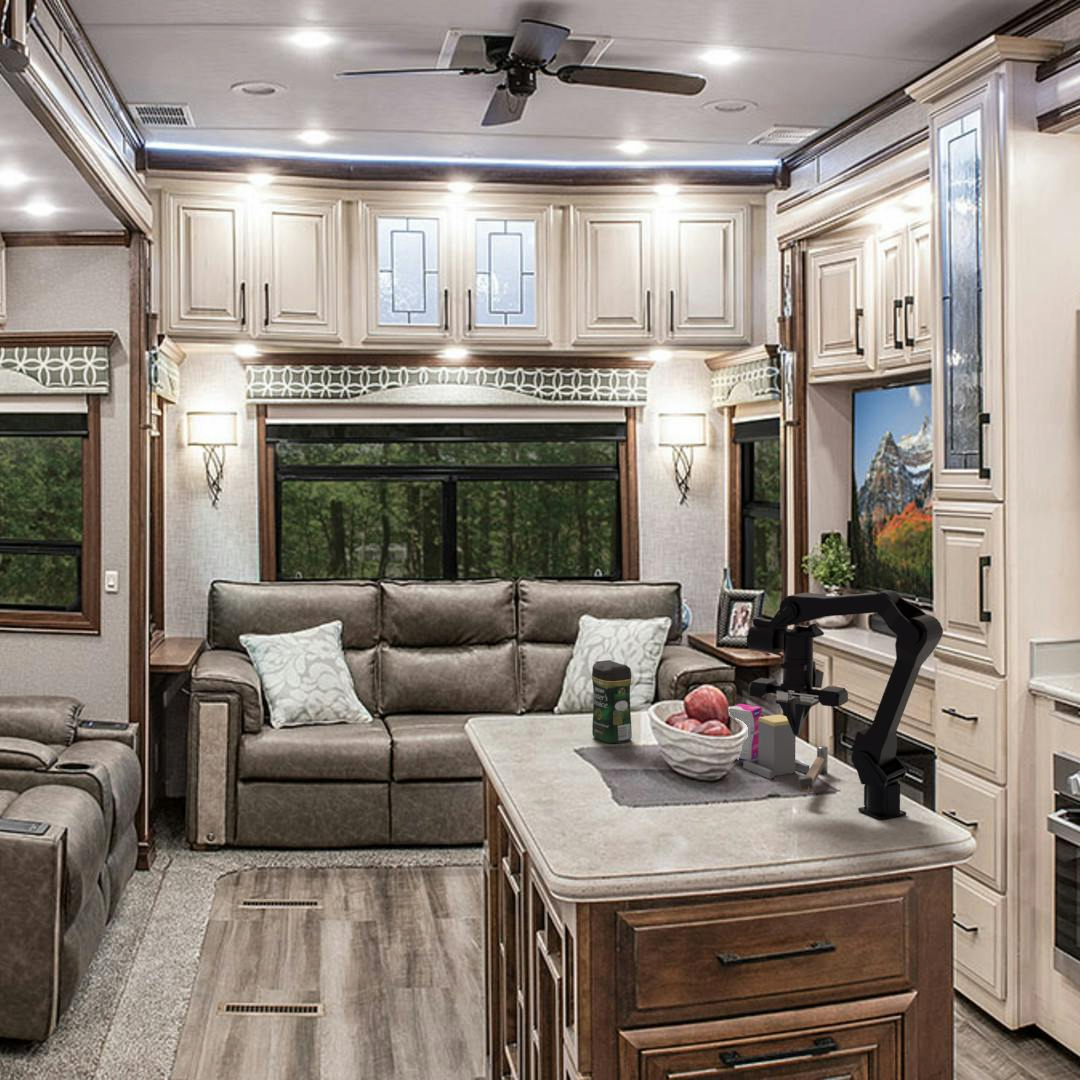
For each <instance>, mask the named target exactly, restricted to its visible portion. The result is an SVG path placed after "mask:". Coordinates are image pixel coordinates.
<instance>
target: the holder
mask: <svg viewBox="0 0 1080 1080" xmlns="http://www.w3.org/2000/svg"><path fill="white" fill-rule="evenodd" d="M742 762H743V769H744V768H745V769H744V770H746V769H748V770H747V771H749V770H750V771H749V772H751V771H752V773H753V772H754V774H756V773H757V774H756V775H758V774H759V776H761V777H764V778H765V777H766V779H768V778H769V779H768V780H773V779H772V778H775V776H774V771H772V770H770V769H767V768H765V767H762V766H760V765H759V758H756V759H752V760H745V761H742ZM809 769H810V765H809V764H806V763H805V762H804V763H803V762H801V761H799V760H796V759H795V771H798V772H800V771H801V772H800V773H803V774H805V773H806V774H807V773H808V771H809Z"/></svg>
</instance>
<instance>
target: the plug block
mask: <svg viewBox="0 0 1080 1080" xmlns="http://www.w3.org/2000/svg"><path fill="white" fill-rule="evenodd" d="M796 736H797V735H794V734H793V731H792V729H791V727H790V724H789V722H788V719H787V717H786V715H784V714H783V715H782V714H772V715H765V716H762V717H759V758H758V759H759V765H760V766H762V767H765V768H767V769H770V770H772V771H774V775H777V776H780V775H779V774H783V775H787V774H786V773H789V774H795V773H796V770H795V760H796ZM794 772H795V773H794Z"/></svg>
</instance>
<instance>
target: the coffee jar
mask: <svg viewBox="0 0 1080 1080" xmlns="http://www.w3.org/2000/svg"><path fill="white" fill-rule="evenodd" d="M592 665H593V666H592V671H591V672H592V673H591V680H592V692H593V699H592V700H593V701H592V728H591V729H592V731H591V732H592V736H593V738H595V739H596V740H598V741H601V742H604V743H607V744H612V743H613V744H623V743H626V742H628V741H630V740H631V739H632V736H633V734H632V715H631V686H632V685H631V684H632V671H631V667H630V666H628V665H627V664H624V663H623V664H622V663H618V662H615V661H612V660H611V659H607V660H598V661H596V662H595V663H594V664H592Z"/></svg>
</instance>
